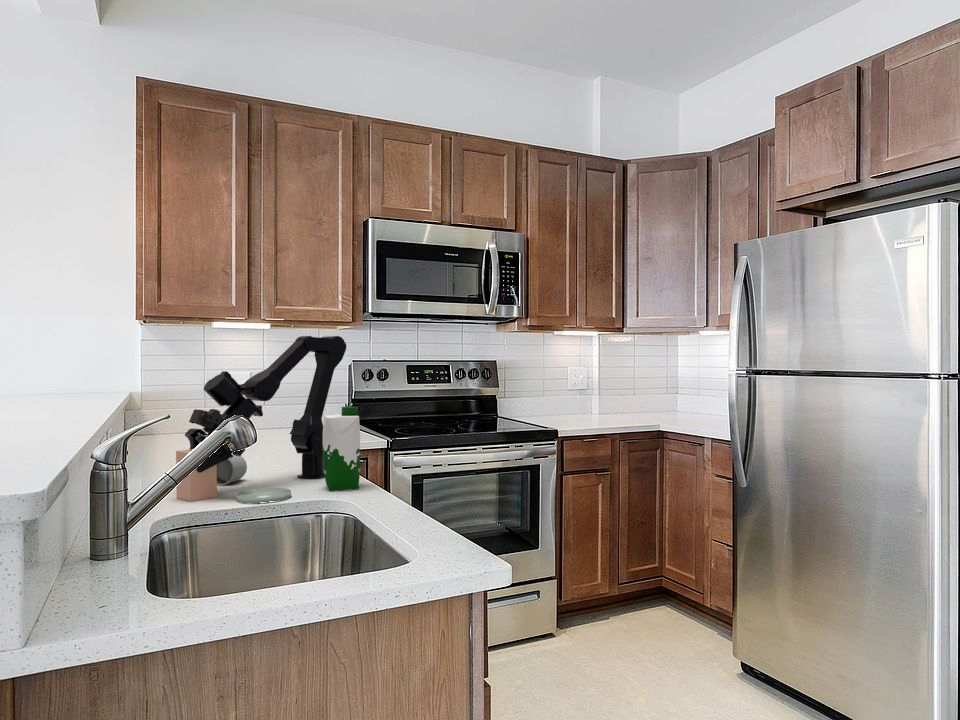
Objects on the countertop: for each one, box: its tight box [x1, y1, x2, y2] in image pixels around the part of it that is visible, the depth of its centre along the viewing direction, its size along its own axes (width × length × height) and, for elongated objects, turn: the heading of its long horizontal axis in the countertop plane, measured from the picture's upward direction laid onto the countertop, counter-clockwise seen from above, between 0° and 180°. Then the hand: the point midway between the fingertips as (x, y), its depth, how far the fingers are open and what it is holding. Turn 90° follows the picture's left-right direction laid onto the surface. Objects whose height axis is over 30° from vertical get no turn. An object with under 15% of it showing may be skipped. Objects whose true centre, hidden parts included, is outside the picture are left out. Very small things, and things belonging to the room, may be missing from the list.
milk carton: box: [323, 405, 361, 492], centre depth 160 cm, size 9×9×20 cm
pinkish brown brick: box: [175, 448, 218, 502], centre depth 150 cm, size 6×6×11 cm
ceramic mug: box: [217, 453, 248, 486], centre depth 168 cm, size 11×8×8 cm
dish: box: [235, 487, 292, 504], centre depth 149 cm, size 12×12×1 cm
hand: (190, 470), depth 149 cm, fingers closed on pinkish brown brick, 6 cm apart
